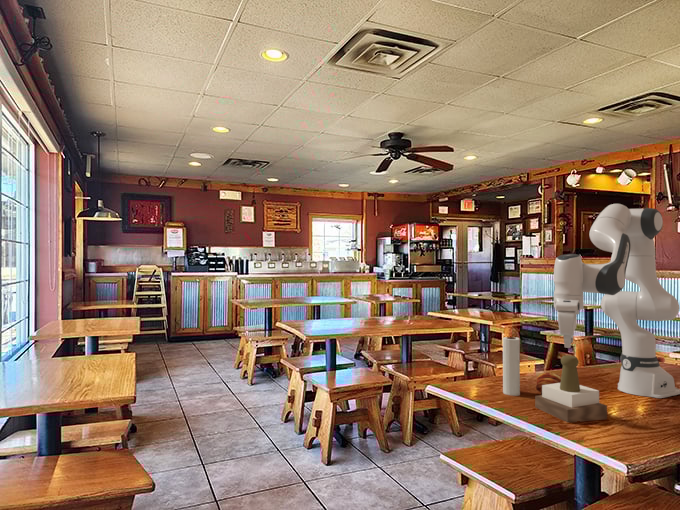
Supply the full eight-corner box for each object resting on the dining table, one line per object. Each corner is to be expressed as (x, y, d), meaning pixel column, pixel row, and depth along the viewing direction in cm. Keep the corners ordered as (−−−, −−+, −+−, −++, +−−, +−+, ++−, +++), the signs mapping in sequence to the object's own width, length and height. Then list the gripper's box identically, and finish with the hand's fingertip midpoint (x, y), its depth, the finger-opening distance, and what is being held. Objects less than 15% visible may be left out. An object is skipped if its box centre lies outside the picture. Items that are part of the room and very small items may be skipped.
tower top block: (568, 393, 161) (568, 381, 161) (599, 403, 150) (599, 390, 150) (542, 396, 156) (542, 385, 156) (571, 407, 145) (571, 394, 145)
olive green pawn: (583, 392, 147) (582, 358, 148) (562, 391, 149) (562, 357, 149) (576, 387, 153) (576, 354, 154) (557, 386, 154) (557, 353, 155)
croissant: (554, 391, 187) (543, 373, 190) (577, 382, 181) (565, 363, 184) (533, 402, 172) (522, 382, 175) (557, 392, 166) (545, 371, 169)
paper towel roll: (508, 397, 170) (508, 339, 170) (499, 392, 176) (499, 336, 176) (526, 396, 172) (525, 338, 172) (516, 391, 178) (516, 336, 178)
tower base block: (571, 406, 161) (571, 392, 161) (607, 421, 147) (606, 405, 147) (535, 410, 157) (535, 395, 158) (567, 425, 143) (567, 409, 143)
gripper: (561, 300, 163) (561, 339, 163) (554, 305, 145) (555, 349, 145) (581, 300, 160) (581, 340, 160) (577, 306, 142) (577, 351, 142)
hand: (568, 345), depth 152 cm, fingers open, 8 cm apart
